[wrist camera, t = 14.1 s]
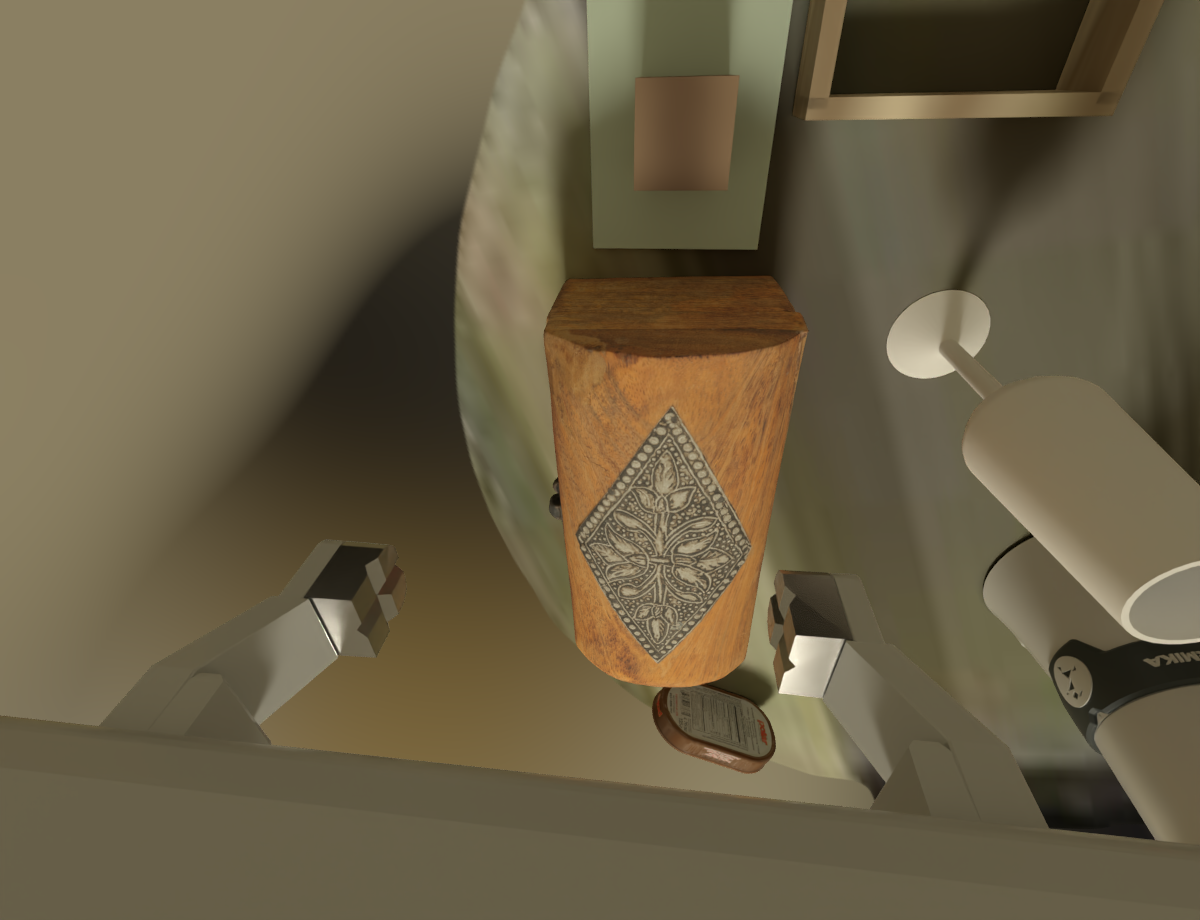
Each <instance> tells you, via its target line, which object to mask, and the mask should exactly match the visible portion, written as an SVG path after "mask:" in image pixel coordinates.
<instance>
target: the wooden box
mask: <svg viewBox="0 0 1200 920" xmlns="http://www.w3.org/2000/svg"><path fill="white" fill-rule="evenodd" d="M808 332H809V330H808V329H807V326H806V323H805V321H804V318H803V316H802V315H801V314H800V313H798V312H795V310H794V308H793V306H792V305H791V303H790V302H789V300H788V298H787V296H786V295H785V293H784V291H783V290H782V289H781V287H780V286H779V284H778V283H777V282H776V281H775V279H774V278H773V277H772V276H699V277H696V276H693V277H692V276H691V277H690V276H689V277H649V278H606V279H568V280H567V281H566V282H565V283H564V285H563V286H562V288H561V290H560V292H559V294H558V296H557V298H556V300H555V302H554V304H553V306H552V308H551V310H550V312H549V314H548V317H547V325H546V327H545V330H544V346H545V354H546V360H547V368H548V377H549V384H550V393H551V406H552V420H553V433H554V443H555V453H556V462H557V472H558V478H557V479H556V480H555V481H554V483H553V488H554V490H555V491H556V492H557V494H554V495H553V496H552V497H551V499H550V505H549V511H550V513H551V515H552V516H553V517H555V518H556V519H558V520H559V519H561V520H562V522H563V529H564V537H565V545H566V554H567V563H568V571H569V580H570V589H571V597H572V607H573V617H574V628H575V639H576V644H577V646H578V648H579V649H580V650H581V652H582V653H583V654H584V655H585V656H586V657H587V658H588V659H589V660H590V661H591V662H592V663H593V664H594V665H595V666H597V667H598V668H599V669H601V670H602V671H604V672H605V673H607V674H608V675H610V676H612V677H614V678H616V679H619V680H621V681H625V682H629V683H635V684H641V685H647V686H656V687H692V686H697V685H701V684H705V683H709V682H712V681H716V680H719V679H721V678H723V677H724V676H726V675H728V674H729V673H730V672H732V671H733V670H734V669H736V668H737V667H738V666H739V665H740V664H741V663H742V662H743V661H744V659H745V656H746V652H747V647H748V642H749V636H750V629H751V623H752V618H753V612H754V606H755V600H756V595H757V588H758V582H759V576H760V571H761V565H762V560H763V556H764V550H765V544H766V539H767V533H768V528H769V523H770V518H771V512H772V507H773V501H774V496H775V490H776V485H777V480H778V475H779V470H780V465H781V460H782V456H783V450H784V445H785V440H786V436H787V430H788V426H789V420H790V415H791V410H792V405H793V399H794V393H795V389H796V383H797V379H798V374H799V369H800V365H801V360H802V355H803V350H804V346H805V341H806V337H807V333H808Z"/></svg>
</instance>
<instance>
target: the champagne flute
mask: <svg viewBox="0 0 1200 920" xmlns="http://www.w3.org/2000/svg"><path fill="white" fill-rule="evenodd" d="M989 329H990V315H989V311H988V309H987V307H986V305H985V303H984V302H983V301H982V300H981V299H980V298H979V297H977V296H975V295H973V294H972V293H969V292H965V291H961V290H947V291H940V292H936V293H933V294H930V295H928V296H925V297H923V298H921V299H919V300H918V301H916V302H915V303H913V304H911V305H910V306H909V307H908V308H907V309H906V310H904V311H903V312H902V313H901V315H900V316H899V317H898V318H897V319H896V321H895V322H894V324H893V326H892V328H891V330H890V332H889V335H888V339H887V354H888V357H889V360H890V362H891V363H892V365H893V366H894V367H895V368H896V369H897V370H898V371H899V372H901V373H903V374H905V375H907V376H910V377H914V378H924V379H925V378H935V377H939V376H943V375H946V374H948V373H951V372H953V371H955V370H956V371H957V372H958V373H959V374H960V375H961V376H962V377H963V378H964V379H965V380H966V381H967V382H968V383H969V385H970V386H971V387H972V388H973V389H974V390H975V391H976V392H977V393H978V394H979V395H980V396H981V397H982V398H983V399H984V400H983V401H982V402H981V403H980V404H979V405H978V406H977V408H976V409H975V410H974V411H973V413H972V415H971V416H970V418H969V420H968V422H967V424H966V427H965V431H964V435H963V439H962V453H963V456H964V459H965V462H966V465H967V466H968V468H969V469H970V471H971V472H972V473H973V474H974V475H975V476H976V477H977V478H978V479H979V480H980V481H981V483H982V484H983V485H984V486H985V487H986V488H987V489H988V490H989V491H990V492H991V493H992V494H993V495H994V496H995V497H996V498H997V499H998V500H999V501H1000V502H1001V503H1002V504H1003V505H1004V506H1005V507H1006V508H1007V509H1008V510H1009V511H1010V512H1011V513H1012V514H1013V515H1014V516H1015V517H1016V518H1017V519H1018V520H1019V521H1020V522H1021V523H1022V525H1023V526H1024V527H1025V528H1026V529H1027V530H1028V531H1029V532H1030V533H1031V534H1032V535H1033V536H1034V537H1035V538H1036V539H1037V540H1038V541H1039V542H1040V543H1041V544H1042V545H1043V546H1044V547H1045V548H1046V549H1047V550H1048V551H1049V552H1050V553H1051V554H1052V555H1053V556H1054V557H1055V558H1056V559H1057V560H1058V561H1059V562H1060V563H1061V564H1062V565H1063V566H1064V568H1065V569H1066V570H1067V571H1068V572H1069V573H1070V574H1071V575H1072V576H1073V577H1074V578H1075V579H1076V580H1077V581H1078V582H1079V583H1080V584H1081V585H1082V586H1083V587H1084V588H1085V589H1086V590H1087V591H1088V592H1089V593H1090V594H1091V595H1092V596H1093V597H1094V598H1095V599H1096V600H1097V601H1098V602H1099V603H1100V604H1101V605H1102V606H1103V607H1104V608H1105V609H1106V611H1107V612H1108V613H1109V614H1110V615H1111V616H1112V617H1113V618H1114V619H1115V620H1116V621H1117V622H1118V623H1119V624H1120V625H1121V626H1122V627H1123V628H1124V629H1125V630H1126V631H1127V632H1129V633H1130V634H1131V635H1132V636H1134V637H1136V638H1139V639H1141V640H1144V641H1148V642H1152V643H1159V644H1186V643H1196V642H1200V485H1199V484H1198V483H1197V482H1195V481H1194V480H1193V479H1192V478H1191V477H1190V476H1189V475H1188V474H1187V473H1186V472H1185V471H1184V470H1183V469H1182V468H1181V467H1180V466H1179V465H1178V464H1177V463H1176V462H1175V461H1174V460H1173V459H1172V458H1171V457H1170V456H1169V455H1168V454H1167V453H1166V452H1165V451H1164V450H1163V449H1162V448H1161V447H1160V446H1159V445H1158V444H1157V443H1156V442H1155V441H1154V440H1153V439H1152V438H1151V437H1150V436H1149V435H1148V434H1147V433H1146V432H1145V431H1144V430H1143V429H1142V428H1141V427H1140V426H1139V425H1138V424H1137V423H1136V422H1135V421H1134V420H1133V419H1132V418H1131V417H1130V416H1129V415H1128V414H1127V413H1126V412H1125V411H1124V410H1123V409H1122V408H1121V407H1120V406H1119V405H1118V404H1117V403H1116V402H1115V401H1114V400H1113V399H1112V398H1111V397H1110V396H1109V395H1108V394H1107V393H1106V392H1105V391H1104V390H1103V389H1102V388H1101V387H1099V386H1097V385H1095V384H1093V383H1091V382H1089V381H1086V380H1083V379H1079V378H1076V377H1072V376H1059V375H1048V376H1037V377H1032V378H1027V379H1023V380H1019V381H1015V382H1013V383H1010V384H1007V385H1005V386H1002V385H1001V384H1000V383H999V382H998V381H997V380H996V379H995V378H994V377H993V376H992V375H991V374H990V373H989V372H988V371H987V370H986V369H985V368H983V367H982V366H981V365H980V364H979V363H978V362H977V361H976V360H975V359H974V358H973V357H974V356H975V355H976V354H977V353H978V352H979V350H980V349H981V347H982V346H983V345H984V343H985V341H986V338H987V336H988V333H989Z"/></svg>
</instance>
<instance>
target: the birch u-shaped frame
mask: <svg viewBox="0 0 1200 920" xmlns="http://www.w3.org/2000/svg"><path fill="white" fill-rule="evenodd" d="M1163 2H1164V0H1090V2H1089V4H1088V7H1087V9H1086V12H1085V14H1084V17H1083V20H1082V22H1081V25H1080V27H1079V30H1078V33H1077V35H1076V38H1075V40H1074V43H1073V45H1072V48H1071V51H1070V53H1069V56H1068V58H1067V61H1066V64H1065V66H1064V69H1063V71H1062V74H1061V76H1060V79H1059V82H1058V84H1057V87H1056V89H1055V90H1028V91H977V92H926V93H876V94H830V89H831V84H832V79H833V73H834V68H835V63H836V57H837V52H838V47H839V41H840V36H841V31H842V26H843V20H844V15H845V10H846V4H847V0H810V5H809V11H808V18H807V24H806V30H805V37H804V43H803V49H802V56H801V62H800V69H799V75H798V81H797V88H796V94H795V100H794V107H793V113H792V116H795V117H798V118H800V119H803V120H864V119H931V118H997V117H1063V116H1113V113H1114V111H1115V109H1116V107H1117V104H1118V102H1119V100H1120V98H1121V96H1122V93H1123V91H1124V89H1125V87H1126V84H1127V82H1128V80H1129V78H1130V75H1131V73H1132V71H1133V69H1134V67H1135V64H1136V62H1137V60H1138V58H1139V55H1140V53H1141V51H1142V49H1143V46H1144V44H1145V42H1146V40H1147V37H1148V35H1149V33H1150V31H1151V29H1152V26H1153V24H1154V22H1155V20H1156V17H1157V15H1158V13H1159V11H1160V8H1161V6H1162V4H1163Z"/></svg>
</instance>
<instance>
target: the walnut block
mask: <svg viewBox="0 0 1200 920" xmlns="http://www.w3.org/2000/svg"><path fill="white" fill-rule="evenodd" d="M739 77H740V75H699V76H657V77H638V78H635V131H634V191H727V190H728V181H729V171H730V162H731V152H732V143H733V134H734V124H735V115H736V105H737V96H738V86H739Z"/></svg>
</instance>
